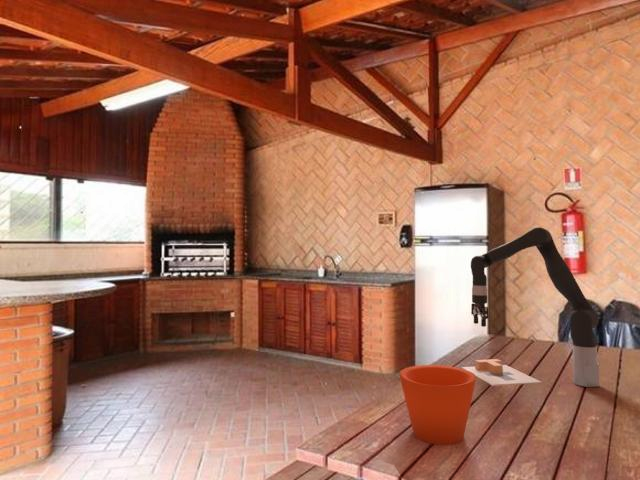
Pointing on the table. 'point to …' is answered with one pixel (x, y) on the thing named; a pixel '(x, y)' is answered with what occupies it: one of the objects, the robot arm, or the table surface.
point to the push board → (503, 376)
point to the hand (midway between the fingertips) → (479, 324)
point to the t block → (490, 365)
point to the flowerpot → (438, 401)
